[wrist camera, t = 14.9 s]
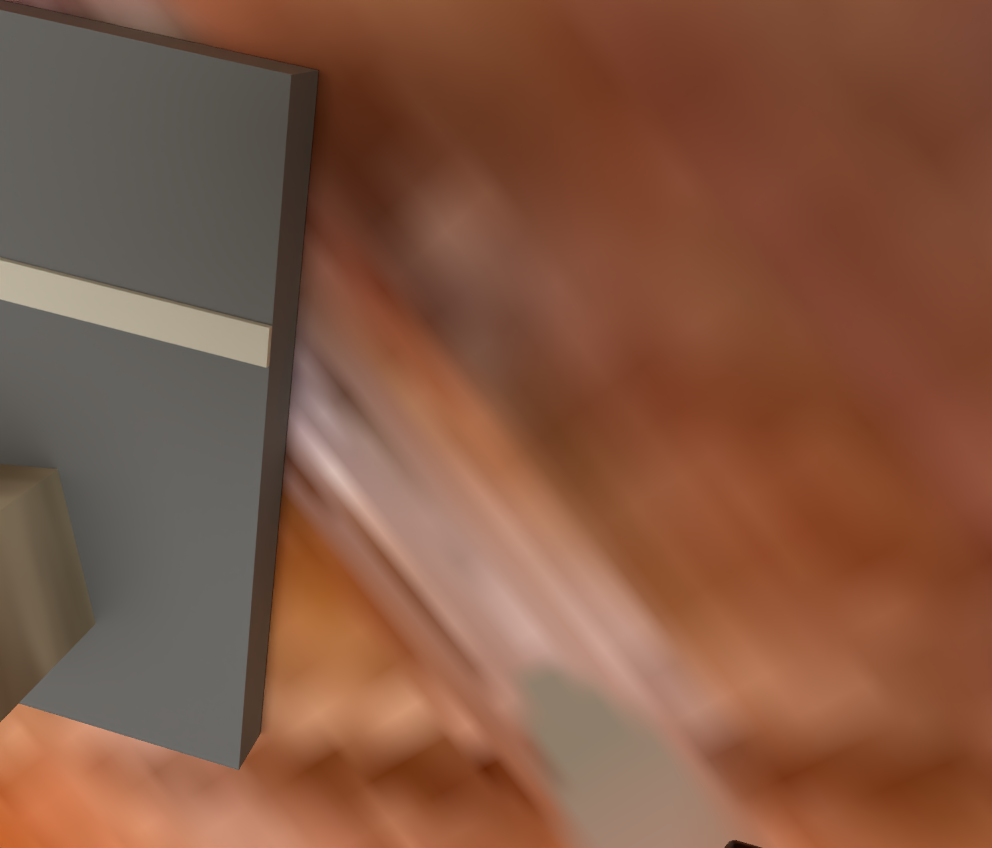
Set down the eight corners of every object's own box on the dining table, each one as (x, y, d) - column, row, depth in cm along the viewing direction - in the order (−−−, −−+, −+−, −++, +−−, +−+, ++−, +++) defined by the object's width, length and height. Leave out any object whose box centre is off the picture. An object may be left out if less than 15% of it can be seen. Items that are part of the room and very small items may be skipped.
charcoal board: (318, 70, 19) (288, 74, 18) (259, 734, 28) (236, 774, 27) (-213, -48, 21) (-282, -53, 19) (-109, 624, 30) (-151, 656, 28)
